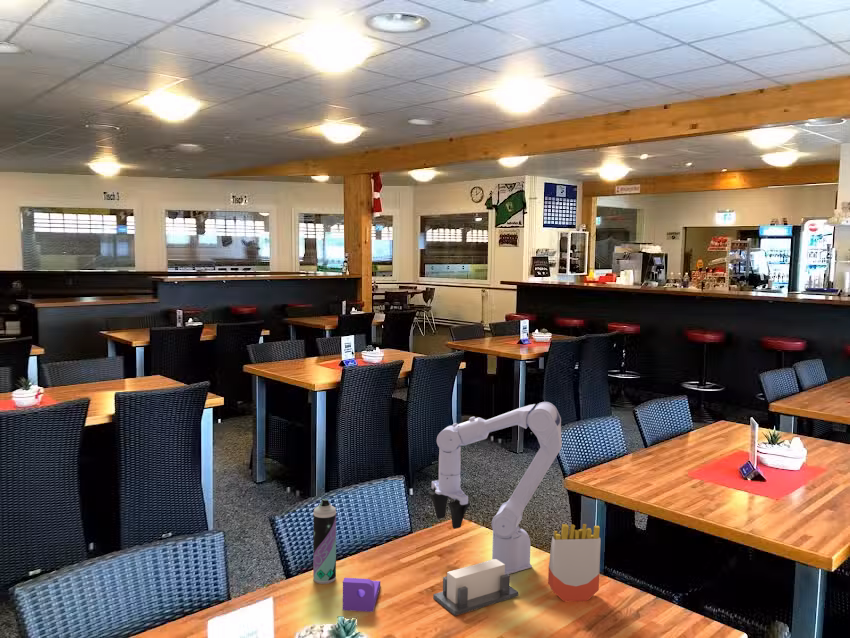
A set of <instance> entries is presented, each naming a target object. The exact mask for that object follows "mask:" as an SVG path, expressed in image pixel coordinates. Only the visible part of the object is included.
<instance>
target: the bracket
mask: <svg viewBox="0 0 850 638" xmlns="http://www.w3.org/2000/svg"><path fill="white" fill-rule="evenodd" d="M380 588H381V581H380V580H372V579H370V578H356V577H355V578H354V577H344V578H343V580H342V611H348V612H349V611H352V612H369V613H371V612H374V611H375V606H376V602H377V599H378V596H379V592H380Z"/></svg>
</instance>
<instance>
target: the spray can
mask: <svg viewBox="0 0 850 638" xmlns="http://www.w3.org/2000/svg"><path fill="white" fill-rule="evenodd" d="M329 501H330V500H329V499H327V498H321V502H319V504H318V506H316V507H314V509H313V512H312V513H313V521H312V522H313V523H312V524H313V542H312V543H313V545H312V546H313V549H312V550H313V555H312V556H313V567H312V568H313V573H312V574H313V577H312V578H313V581H314V583H317V584H320V585H328V584H331V583H333V582H334V581H335V580H336V579H337V511H336V510H337V508H336V507H335V506H333V505H331V503H330V502H329Z"/></svg>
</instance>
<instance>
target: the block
mask: <svg viewBox="0 0 850 638" xmlns="http://www.w3.org/2000/svg"><path fill="white" fill-rule="evenodd" d="M489 560H490V561H489ZM489 560H486V561H482V562H480V563H475V564H472V565H469V566H465V567H461V568H457V569H453V570H450V571H447V572H446V575H447V598H448V599H450V600H451V601H452V602H453V603H455V604H457V603H458V588H461V587H464V586H466V587H467V588H468V600H470V599H473V598H476V597H480V596H483V595H486V594H490V593H493V592H496V591H499V590H500V576H502V575H505V564H503V563H502V562H500V561H499V560H497V559H493V560H492V559H489Z"/></svg>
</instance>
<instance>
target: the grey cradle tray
mask: <svg viewBox="0 0 850 638" xmlns="http://www.w3.org/2000/svg"><path fill="white" fill-rule="evenodd" d="M510 576H511V575H510V574H505V575H502V576H500V590H499V591H496V592H493V593H490V594H486V595H483V596H480V597H476V598H473V599H470V600H468V588H467V587H466V586H464V587H461V588H458V603H457V604H455V603H453V602H452V601H451V600H450V599H448V598H447V576H443V577H442V591H440V592H437V593H433V594H432V595H433V597H432V599H433V600H434V601H436V602H437V604H440V605H441V606H442V607H443V608H444V609H445V610H447V611H448V612H449V613H450V614H452V615H453V616H454V617H457V616H460V615H462V614H463V615H464V614H466V613H469V612H473V611H475V610H478V609H481V608H485V607H488V606H491V605H494V604H497V603H500V602H501V603H502V602H503V601H507V600H510V599H513V598H516V597H519V593H520V592H519V591H518V590H517V589H515V588H513V587H512V586H511V585H510V582H511V581H510V580H511V577H510Z"/></svg>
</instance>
